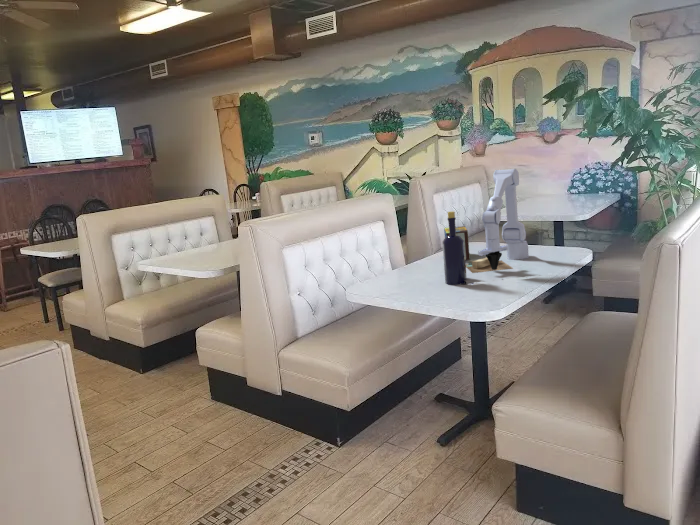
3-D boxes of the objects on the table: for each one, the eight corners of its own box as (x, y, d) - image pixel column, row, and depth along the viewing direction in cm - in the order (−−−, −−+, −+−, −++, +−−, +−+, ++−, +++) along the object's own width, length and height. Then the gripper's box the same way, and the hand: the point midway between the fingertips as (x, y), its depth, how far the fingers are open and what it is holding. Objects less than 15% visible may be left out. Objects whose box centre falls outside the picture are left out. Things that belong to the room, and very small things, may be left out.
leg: (494, 261, 260) (493, 253, 259) (499, 262, 258) (498, 254, 257) (472, 268, 252) (471, 259, 252) (477, 268, 250) (476, 260, 249)
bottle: (467, 284, 232) (462, 212, 225) (444, 285, 234) (439, 214, 228) (467, 278, 240) (462, 209, 234) (445, 280, 242) (440, 211, 236)
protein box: (466, 255, 286) (464, 225, 283) (470, 262, 271) (468, 230, 268) (446, 257, 287) (443, 227, 284) (448, 264, 272) (445, 232, 269)
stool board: (501, 262, 263) (501, 260, 262) (513, 271, 245) (513, 268, 245) (463, 267, 262) (463, 264, 262) (472, 275, 245) (472, 272, 245)
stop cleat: (485, 262, 261) (484, 258, 261) (485, 263, 260) (485, 258, 260) (468, 264, 261) (467, 260, 261) (468, 264, 260) (468, 260, 260)
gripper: (499, 234, 247) (501, 264, 249) (473, 240, 241) (475, 270, 244) (510, 236, 240) (512, 267, 243) (483, 242, 234) (485, 273, 237)
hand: (494, 269), depth 243 cm, fingers closed
